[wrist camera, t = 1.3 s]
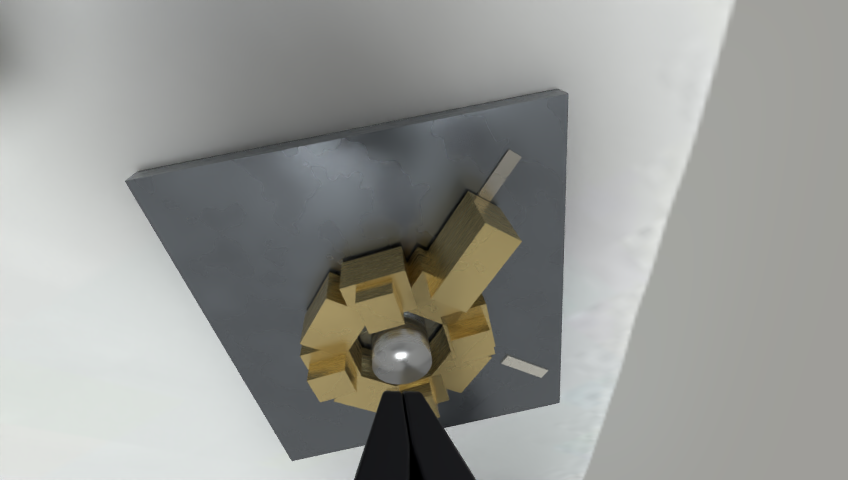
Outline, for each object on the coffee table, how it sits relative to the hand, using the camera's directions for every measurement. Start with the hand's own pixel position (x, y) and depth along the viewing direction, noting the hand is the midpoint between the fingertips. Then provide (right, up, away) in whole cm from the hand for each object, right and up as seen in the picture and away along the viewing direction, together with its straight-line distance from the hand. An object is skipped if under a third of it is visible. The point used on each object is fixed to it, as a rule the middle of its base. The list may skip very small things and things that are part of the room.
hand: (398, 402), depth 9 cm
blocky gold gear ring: (0, +1, +12) cm, 12 cm away
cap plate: (-1, 0, +13) cm, 13 cm away
